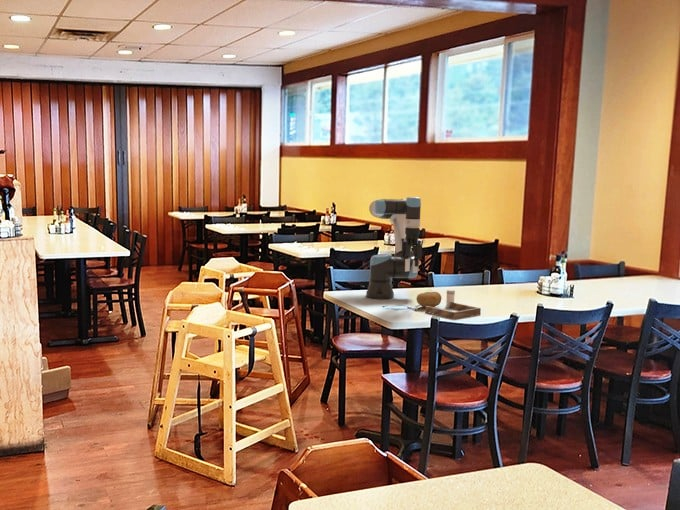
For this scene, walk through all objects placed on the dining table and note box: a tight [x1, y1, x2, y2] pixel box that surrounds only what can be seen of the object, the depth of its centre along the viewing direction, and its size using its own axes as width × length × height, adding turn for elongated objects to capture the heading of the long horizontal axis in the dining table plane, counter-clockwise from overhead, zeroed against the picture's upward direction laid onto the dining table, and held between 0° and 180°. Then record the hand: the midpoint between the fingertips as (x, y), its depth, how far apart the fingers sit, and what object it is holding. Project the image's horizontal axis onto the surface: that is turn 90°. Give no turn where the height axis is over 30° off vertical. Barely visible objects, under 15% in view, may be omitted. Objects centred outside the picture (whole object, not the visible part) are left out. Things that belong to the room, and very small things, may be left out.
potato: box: [416, 291, 442, 309], centre depth 358 cm, size 10×14×8 cm
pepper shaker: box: [445, 289, 456, 308], centre depth 362 cm, size 4×4×8 cm
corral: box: [425, 301, 482, 320], centre depth 346 cm, size 19×19×3 cm
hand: (411, 271), depth 366 cm, fingers open, 5 cm apart
